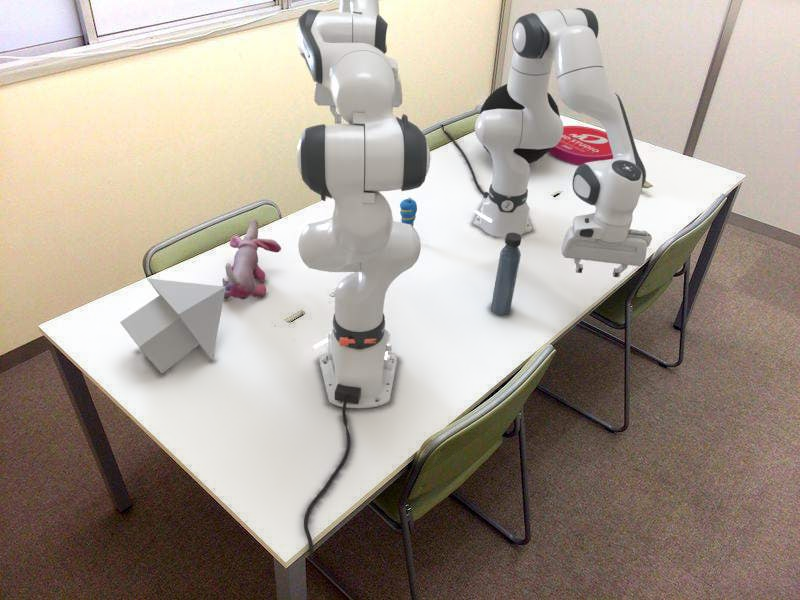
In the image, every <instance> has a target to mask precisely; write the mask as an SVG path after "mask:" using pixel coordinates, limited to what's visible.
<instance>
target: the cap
mask: <svg viewBox="0 0 800 600" xmlns="http://www.w3.org/2000/svg"><path fill="white" fill-rule="evenodd" d="M504 243H505V246H506V245H507V246H509V247H518V248H519V247H520V246H521V244H522V236H521V235H519V234H517V233H508V234H507V235H506V238H504Z"/></svg>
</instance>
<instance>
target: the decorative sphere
mask: <svg viewBox="0 0 800 600" xmlns="http://www.w3.org/2000/svg"><path fill="white" fill-rule="evenodd" d="M507 85H508V83H506V84H504V85H502V86H501V85H500V86H499V87H498V88H496V89H494V90H493V92H491V94H490V95H488V97H487V98H486V99H485V101H484V102H483V104H482V105H481V107H480V111H479V113H478V114H479V115H480V114H481V113H482V112H483V111H487V110H493V109H513V110H523V109H524V108H525V107H524V106H523V105H521V104H519V103H518V102H516V101H515V100H513V99H512V98H511V96H510V95H509V93H508V90H507ZM547 97H548V102H549V105H550V107H551V108H552V110H553V111H554V112H555V113H556V114H557V115H558V116H559V117H560V118H561V115H560V111H559V107H558V104H557V103H556V101H555V99H554V97H553V96H552V94H550V92H549V91H547ZM479 115H478V116H479ZM482 147H483V148H484V150H485V151H486V152H487V153H488V155H490V156H491V154H490V152H489V151H488V150H487V148H486V147H485V146H484V145H482ZM550 149H551V148H545V149H524V148H516V149H514V151H513V152H514V153H515V154H517V155H519V156H521V157H522V158H524V159H525V160H526V161H527V162H528V164H529V165H530V164H532V163H535V162H538V160H540V159H541V158H542V157H544V156H545V155H546V154H548V153H549V152H548V151H549V150H550Z"/></svg>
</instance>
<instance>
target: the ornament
mask: <svg viewBox="0 0 800 600" xmlns="http://www.w3.org/2000/svg"><path fill="white" fill-rule="evenodd" d="M399 207H400V211H399V212H400V213H399V214H400V216H401V218H400V222H401V223H405V224H410V225H412V226H413V227H414V223H415V220H416V218H417V217H416V214H417V212H418V205H417V202H416V200H414V199H412V197H411V196H410V195H409V197H408V198H405V199H403V200H401V201H400V204H399Z"/></svg>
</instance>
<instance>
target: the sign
mask: <svg viewBox="0 0 800 600" xmlns="http://www.w3.org/2000/svg"><path fill="white" fill-rule="evenodd" d="M548 153H549V154H550V155H551V156H552V157H554V158H556V159H559V160H561V161H563V162H566V163H570V164H573V165H578V166H580V165H581V164H584V163H588V162H593V161H600V160H601V161H602V160H609V159H613V153H612V150H611V147H610V143H609V140H608V137H607V134H606V131H604V130H601V129H597V128H593V127H590V126H583V125H582V126H581V125H563V135H562V138H561V140H560V142H559V143H558V144H557V145H556V146H555V147H552V148H551V149H550V150H549V151H548Z"/></svg>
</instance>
